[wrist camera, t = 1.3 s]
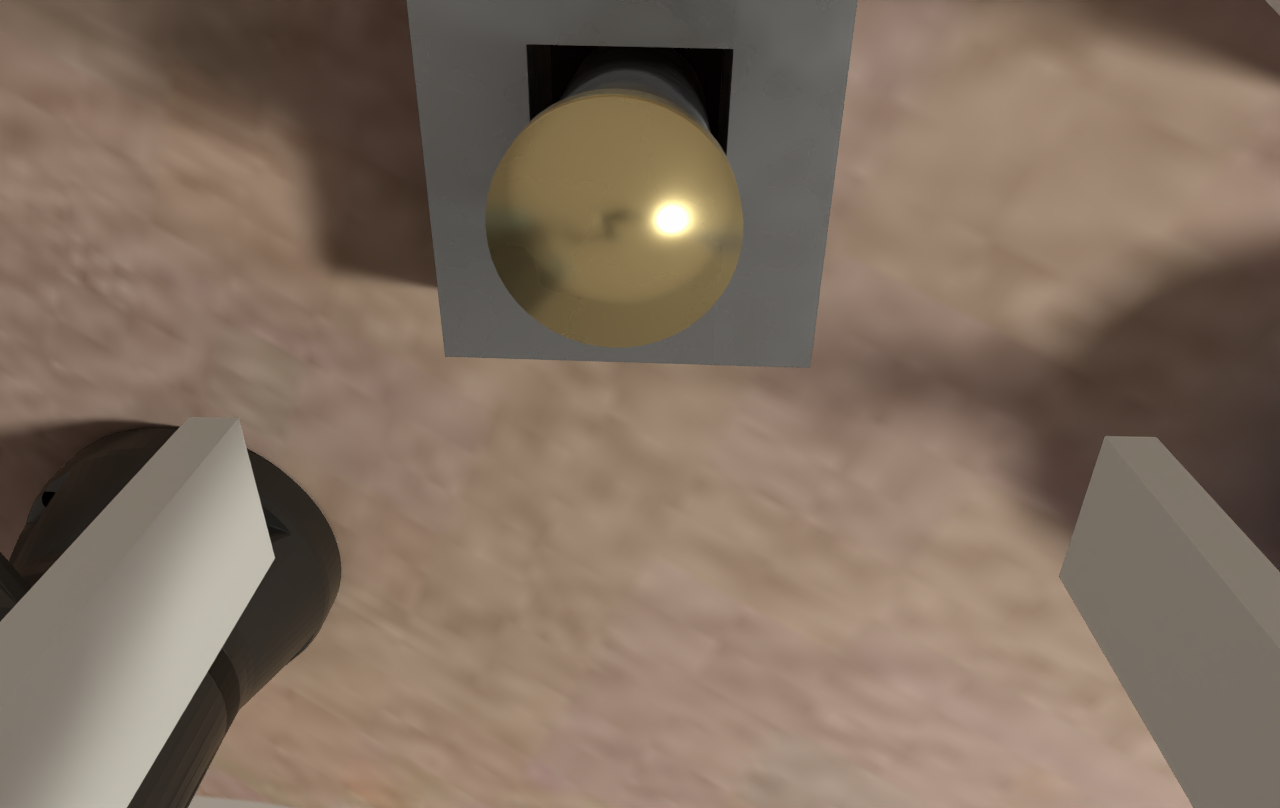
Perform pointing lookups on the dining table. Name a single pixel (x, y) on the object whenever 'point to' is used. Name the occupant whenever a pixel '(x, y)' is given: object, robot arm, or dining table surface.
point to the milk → (1274, 5)
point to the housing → (747, 132)
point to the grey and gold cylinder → (617, 204)
